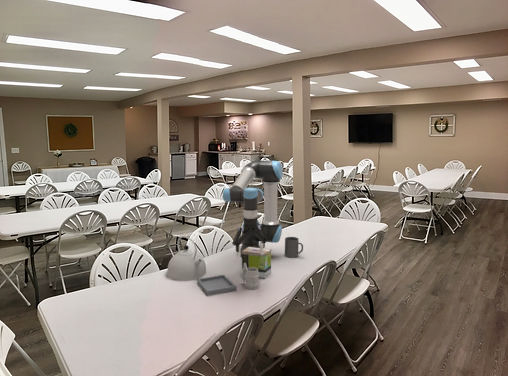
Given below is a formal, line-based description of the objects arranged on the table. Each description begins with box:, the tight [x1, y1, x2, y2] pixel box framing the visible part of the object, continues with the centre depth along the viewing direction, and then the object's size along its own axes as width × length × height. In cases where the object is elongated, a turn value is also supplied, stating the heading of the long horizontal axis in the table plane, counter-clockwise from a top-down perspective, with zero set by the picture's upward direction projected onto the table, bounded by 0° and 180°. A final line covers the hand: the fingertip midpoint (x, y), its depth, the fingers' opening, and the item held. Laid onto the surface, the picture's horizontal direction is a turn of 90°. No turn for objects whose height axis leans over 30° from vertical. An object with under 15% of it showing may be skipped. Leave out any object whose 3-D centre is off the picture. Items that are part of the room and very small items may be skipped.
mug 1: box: [241, 263, 260, 290], centre depth 208 cm, size 8×12×12 cm, turn 45°
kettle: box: [166, 235, 207, 282], centre depth 224 cm, size 25×23×22 cm
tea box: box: [241, 247, 272, 279], centre depth 225 cm, size 15×10×15 cm, turn 65°
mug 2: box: [284, 236, 304, 259], centre depth 257 cm, size 14×9×12 cm
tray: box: [196, 274, 238, 297], centre depth 206 cm, size 18×16×2 cm
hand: (250, 255), depth 206 cm, fingers open, 13 cm apart
